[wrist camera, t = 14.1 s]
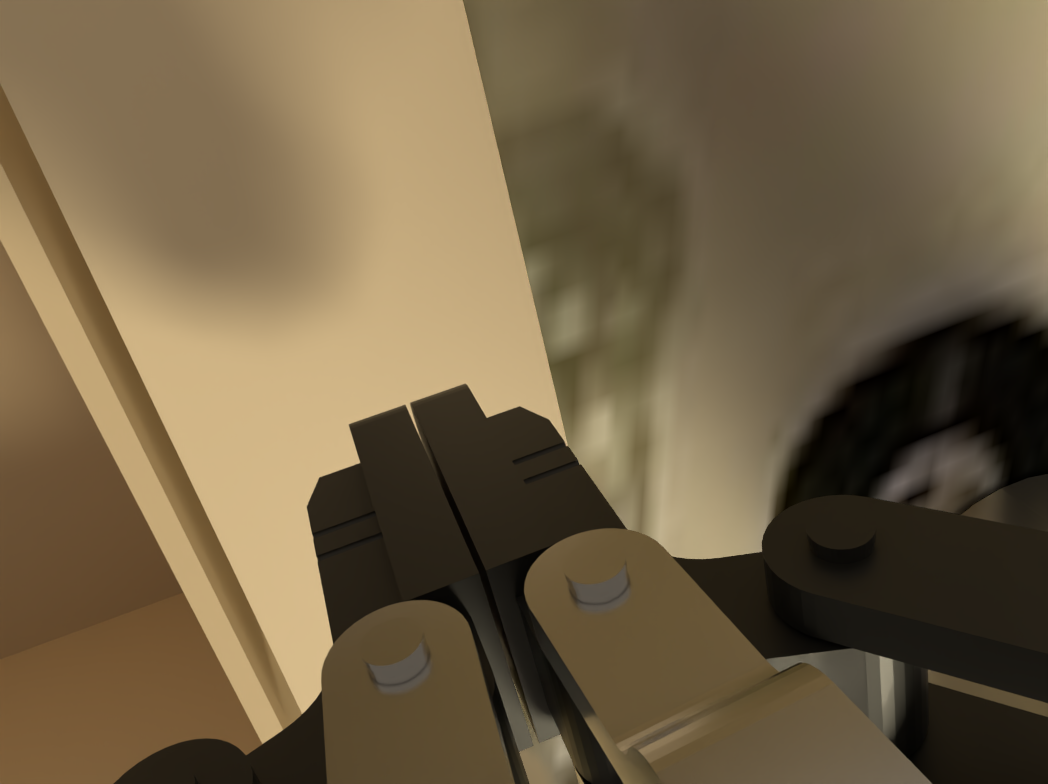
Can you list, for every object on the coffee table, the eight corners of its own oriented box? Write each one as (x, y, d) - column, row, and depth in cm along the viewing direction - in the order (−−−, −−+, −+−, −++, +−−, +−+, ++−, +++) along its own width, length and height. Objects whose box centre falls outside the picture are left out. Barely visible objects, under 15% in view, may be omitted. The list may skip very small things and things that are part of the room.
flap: (-46, -19, 11) (422, -138, 12) (318, 743, 17) (601, 607, 18) (-48, -17, 10) (429, -140, 12) (322, 755, 17) (608, 616, 18)
